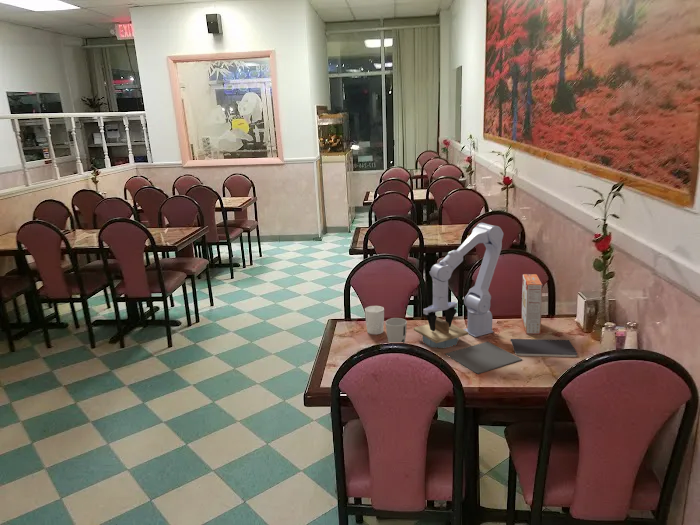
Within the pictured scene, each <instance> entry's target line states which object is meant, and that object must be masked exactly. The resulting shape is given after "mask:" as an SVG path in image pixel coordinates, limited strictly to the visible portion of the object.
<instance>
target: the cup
mask: <svg viewBox="0 0 700 525" xmlns="http://www.w3.org/2000/svg"><path fill="white" fill-rule="evenodd" d="M384 324H385V329H386V330H385V331H386V336H387V341H388V343H389V342H403V343H404V344H405V342H406V337H407V327H408V326H407V324H408V321H407V319H404V318H401V317H391V318H388V319H387V320H385V321H384Z"/></svg>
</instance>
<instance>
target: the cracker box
mask: <svg viewBox="0 0 700 525" xmlns="http://www.w3.org/2000/svg"><path fill="white" fill-rule="evenodd" d="M521 288H522V290H521V291H522V292H521V293H522V294H521V298H522V299H521V322H522V326H523V329H524V332H525V334H526V335H541V332H542V331H541V330H542V329H541V328H542V326H541V325H542V303H543V300H542V299H543V283H542V281H541V280H540V278H539V276H538V274H536V273H533V274H531V273H530V274H529V273H524V274H522V287H521Z"/></svg>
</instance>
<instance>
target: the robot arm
mask: <svg viewBox="0 0 700 525" xmlns="http://www.w3.org/2000/svg"><path fill="white" fill-rule="evenodd" d="M504 234H505V233H504V232H503V230H502V228H501V227H500V226H498V225H492V224H489V223H485V222H479V223H478V224H477V225H476V226H475V227H474V228H473V229H472V231H471V234H470V235H469V236H468V237H467V238H466V239H465V240H464V241H463V242H462V243H461V245H459V246H458V248H457V249H453V250H451V251H448V252H447V255H446V256H445V257H443V258H442V260H440V261H439V262H438V263H435V264H433V265H432V266H431V268H430V271H429V275H430V277H431V280H432V304H431V305H429V306H428V307H425V308H423V311H422V312H423V315H424V316H425V318H426V320H427V321H428V324H429V326H430V330H432V331H435V322H436V318H437V317H438V315H437V314H435V313H437V312H442V311H444V315H445V316H444V317H445V321H446V322H448V323H449V327H451V324H453V323H452V322H453V320H454V317H455V315H456V314H457V308H458V303H457V302H456V301H449V280H450V279H451V277H452V274H453V272H454V270H455V269H456V268H457V267H459V265H460V264H461V263H463V262H464V256H465V255H467V254H468V253H469V252H470V251H471V250H472V249H474V248H475V247H476V246H477V245H479V244H483V246H484V247H485V251H484V254H483V258H482V261H481V265H480V268H479V271H478V274H477V277H476V280H475V283H474V285H473V286H472V287H471V288H469V290H468V292H467V294H466V295H465V296H464V299H463V304H464V305H465V307H466V310H467V328H462V329H463V330H465V331H467V332H468V335H470V336H472V337H474V338H476V337H481V336H485V335H487V334H493V333H494V330H493V313H492V312H491V311H490V308H491V299H492V295H491V293H490V292H489V288H490V285H491V283H492V280H493V277H494V273H495V271H496V267H497V264H498V260H499V257H500V254H501V251H502V248H503V247H502V246H503V242H502V241H503V238H504Z"/></svg>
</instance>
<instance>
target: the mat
mask: <svg viewBox="0 0 700 525" xmlns="http://www.w3.org/2000/svg"><path fill="white" fill-rule="evenodd" d="M445 354H446V355H445ZM444 355H445V356H447V355H448V356H450V357H451V360H453V359H454V360H453V361H455V362H457V363H458V362H459V363H458V364H460V365H461V366H463V367H465V368H466V369H469V371H472V372H473V373H475V374H476V373H477V375H480V374H483V373H485V372H486V373H487V372H490V371H491V370H495V369H498V368H501V367H505V366H508V365H512V364H515V363H518V362H521V361H523V358H521V357H520V356H518V355H516V354H513V353H511V352H509V351H507V350H505V349H504V348H501V347H500V346H497V345H495V344H493V343H492V342H489V341H484V342H481V343H477V344H474V345H471V346H467V347H463V348H460V349H457V350H452V351H450V352H446V353H444ZM448 356H447V357H448ZM450 357H449V358H450Z"/></svg>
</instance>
